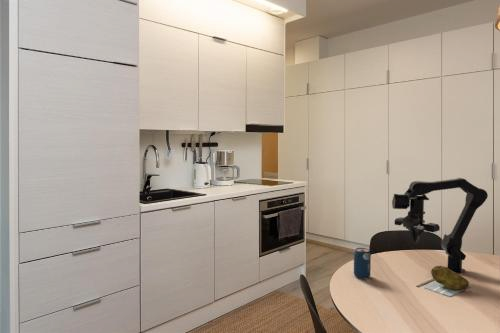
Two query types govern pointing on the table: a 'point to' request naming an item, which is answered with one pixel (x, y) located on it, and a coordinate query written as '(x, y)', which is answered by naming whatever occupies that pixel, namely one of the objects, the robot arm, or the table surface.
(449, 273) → the potato
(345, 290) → the table surface
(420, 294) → the table surface
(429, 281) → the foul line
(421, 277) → the table surface
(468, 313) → the table surface
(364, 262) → the soda can
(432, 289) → the mat
